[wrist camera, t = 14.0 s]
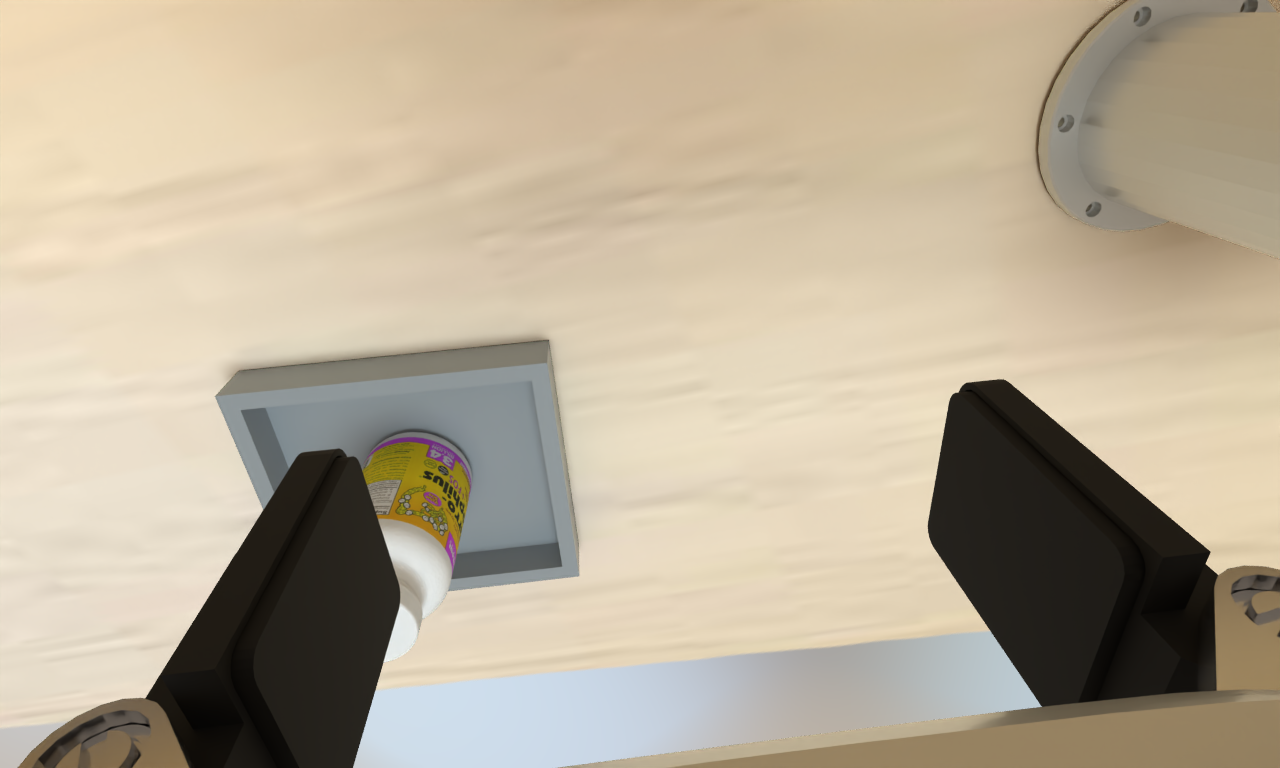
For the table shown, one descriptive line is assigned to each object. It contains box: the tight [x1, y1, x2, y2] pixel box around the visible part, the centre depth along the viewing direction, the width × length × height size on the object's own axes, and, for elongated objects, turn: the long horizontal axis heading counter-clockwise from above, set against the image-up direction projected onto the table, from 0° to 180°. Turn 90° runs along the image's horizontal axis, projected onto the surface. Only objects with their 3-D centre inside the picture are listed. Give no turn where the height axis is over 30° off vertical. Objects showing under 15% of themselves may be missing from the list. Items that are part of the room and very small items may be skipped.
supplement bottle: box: [362, 432, 472, 663], centre depth 38 cm, size 7×7×13 cm
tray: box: [215, 340, 579, 591], centre depth 42 cm, size 18×16×3 cm
